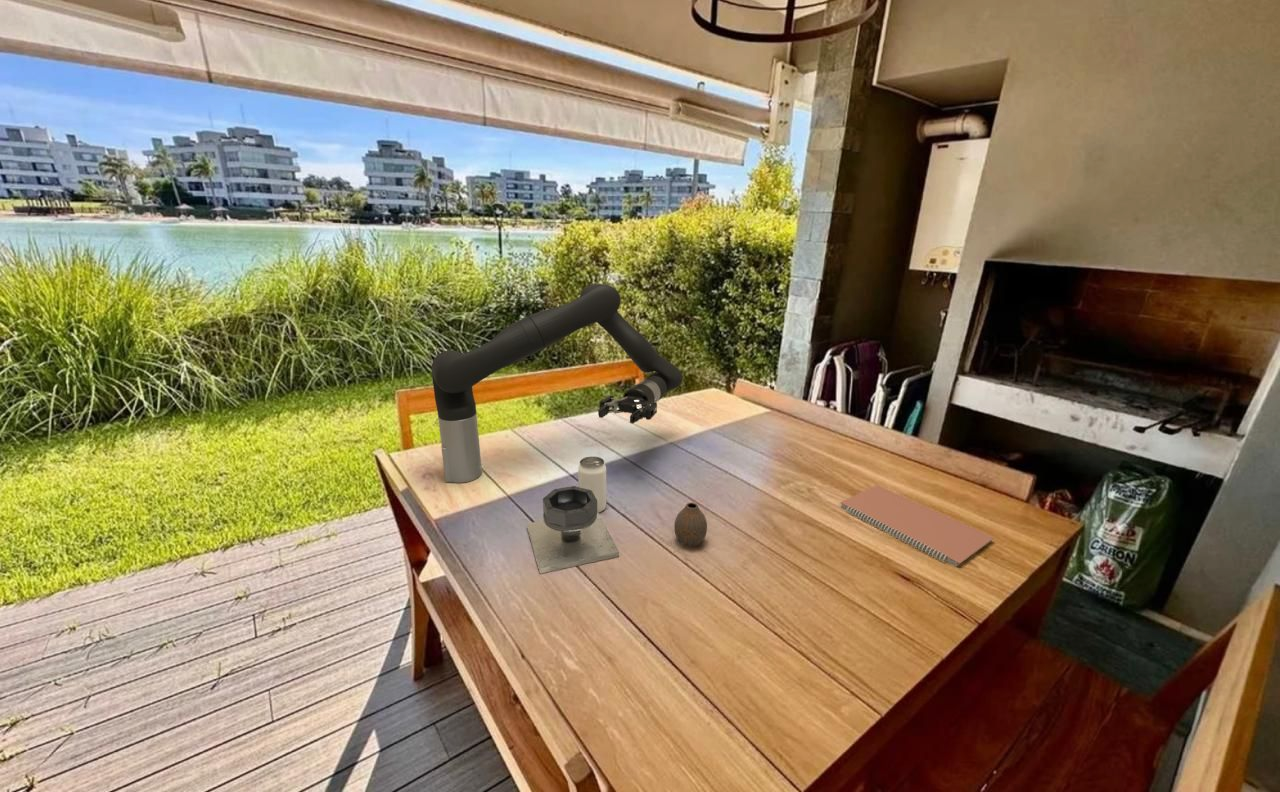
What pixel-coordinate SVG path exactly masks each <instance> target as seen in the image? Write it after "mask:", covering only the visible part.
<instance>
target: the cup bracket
mask: <svg viewBox="0 0 1280 792" xmlns="http://www.w3.org/2000/svg"><path fill="white" fill-rule="evenodd" d="M542 512H543V513H542V514H543V520H537V521H533V522H529V523H526V530H527V532H528V536H529V540H530V543H531V547H532V550H533V553H534V558H535V561H536V564H537V568H538V571H539V574H540V575H541V574H545V573H549V572H554V571H559V570H564V569H568V568H572V567H577V566H582V565H587V564H590V563H591V564H592V563H595V562H599V561H604V560H609V559H614V558H617V557H620V551H619V549H618V547H617V545H616V543H615V541H614V540H613V538H612V536H611V534H610V532H609V530H608V529H607V526H606V524H605V523H604V520H603V519H602V517H601V515H600V514H599V513H600V512H599V513H598V512H597V499H596V497H595V496H594V494H593V492H592V490H588V489H584V488H580V487H579V486H576V485H570V486H566V487H559V488H554V489H553V490H551V491H550V492H549V493H548V494H546V495H545V496H544V497H543V498H542Z"/></svg>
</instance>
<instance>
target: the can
mask: <svg viewBox="0 0 1280 792" xmlns="http://www.w3.org/2000/svg"><path fill="white" fill-rule="evenodd" d="M606 466H607V465H606V464H605V460H604V459H603V458H602V457H599V456H594V455H593V456H592V455H591V456H585V457H583V458H581V460H579V465H578V471H577V474H578V477H577V479H578V487H580V488H584V489H588V490H592V492H593V494H594V496H595V497H596V499H597V512H598V513H601V512H603V511H604V510H605V509H606V508H607V467H606Z"/></svg>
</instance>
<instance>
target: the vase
mask: <svg viewBox="0 0 1280 792" xmlns="http://www.w3.org/2000/svg"><path fill="white" fill-rule="evenodd" d="M707 521H708V520H707V518H706V515H704V513H703V512H702V510H701V509H700V508H699V504H698V503H695V502H688V503H686V504H685V506H684V508H682V509H681V510H680V511H679V512H678V513H677V514H676V517H675V519H674V524H673V525H674V534H675V537H676V538H677V541H679V542H680V544H682V545H684V546H685V547H696V546H698V545H700V544H701V543H702V542H703V541H704V540H705V537H706V535H707V534H708V533H707V532H708V522H707Z"/></svg>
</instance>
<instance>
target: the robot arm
mask: <svg viewBox="0 0 1280 792" xmlns="http://www.w3.org/2000/svg"><path fill="white" fill-rule="evenodd" d="M621 301H622V299H621V294H620V293H619V291H618V290H617V289H616V288H615V287H614V286H612V285H609V284H606V283H593V284H588V285H587V286H585V287H583V288H582V290H581V292H580V294H579V297H578V298H576V299H574V300H571V301H570V302H568V303H565V304H563V305H559V306H555V307H552V308H546V309H544V310H541V311H537V312H534V313H533V314H530V315H527V316H526V317H523V318H520V320H519V319H518V320H517V321H515V322H513V323H511V324H509V325H508V326H506V327H505V328H504V329H503V330H501V331H500V332H499V333H498V334H497V335H495V336H494V337H493V338H492V339H490V340H489V341H488V342H486V343H485V344H483V345H481V346H479V347H477V348H474V349H472V350H469V351H467V352H464V353H462V352H460V351H458V350H453V349H451V350H450V349H448V350H445V351H442V352H439V353H438V354H437V355H436V356H435V357H434V358H433V360H432V363H431V380H432V386H433V387H432V388H433V393H434V394H433V395H434V401H435V406H436V412H437V418H438V427H439V434H440V435H439V436H440V444H441V455H442V462H443V463H442V465H443V471H444V472H443V473H444V481H445V483H456V484H459V483H467V482H472V481H474V480H476V479H478V478H479V477H481V476H482V474H483V469H482V465H483V464H482V458H481V447H480V438H479V437H480V436H479V425H478V416H477V414H478V413H477V405H476V399H475V396H474V391H473V386H475V385H476V384H478V383H479V382H481V381H483V380H485V379H486V378H487V377H489V376H490V375H492V374H494V373H496V372H498V371H500V370H502V369H505V368H506V367H509V366H510V365H513V364H515V363H517V362H519V361H522V360H523V359H525V358H528V357H530V356H532V355H534V354H537V353H538V352H540V351H543V350H544V349H546V348H548V347H550V346H551V345H552V346H553V344H555V343H558V342H559V341H561V340H563V339H564V338H567V337H568V336H570V335H572V334H573V333H575V332H577V331H579V330H581V329H582V328H585V327H588V326H591V325H593V324H595V323H597V324H598V325H599V326H600V327H602V329H604V330H605V332H607V333H608V334H609V335H610V336H611V337H612V338H613V340H614V341H616V343H617V344H618V345H619V346H620V347H621V349H622V350H623V351H624V352H625V353H626V355H627V356H628V357H629V358H630V359H631V360H632V361H633V363H634V364H635V365H636V366H637V367H638V368H639V370H640V371H642V372H643V373H650V372H651V374H649V375H647V377H646V378H645V379H644V380H641V381H640V382H638V383H637V384H634V386H632V387H630V388H628V389H627V390H626V391H625V392H624V394H623V396H622V397H619V398H615V397H614V395H609V396H607V397H605V398H604V399H601V400H600V401H599V402H598V403H599V405H598V406H599V408H598V410H597V411H598V412H597V413H598V418H601V419H603V418H604V417H606V416H607V415H608V414H611V413H613V414H621V413H625V414H626V413H629V414H630V415H629V423H630V424H635V423H637V422H639V421H640V420H644V419H645V420H647V421H649V420H651V419H652V418H653V417H654V416H655V415H656V414H657V413H658V411H657V410H658V403H657V402H659V401H660V400H661V399H662V398H663V397H664V396H665V395H666V393H668V392H671V391H673V390H675V389H677V388H679V387H680V386H681V385H682V383H683V374H682V372H681V371H680V369H679V368H678V367H677V366H676V365H675V364H674V363H672V362H671V361H669V360H668V359H666V358H665V357H663V356H662V355H660V354H659V353H658V352H657V351H656V349H655V348H654V346H653V345H652V344H651V343H650V342H649V341H648V340H647V338H646V337H645V336H643V335H642V334H641V332H640V331H638V330H637V329H635V327H634V326H632V325H631V324H630V323H629V322H628V321H627V320H626V319H625V318H624V317H623V316H622V314H621V313H620V312H619V309H620V306H621ZM652 372H653V373H652ZM610 408H611V409H610Z"/></svg>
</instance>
